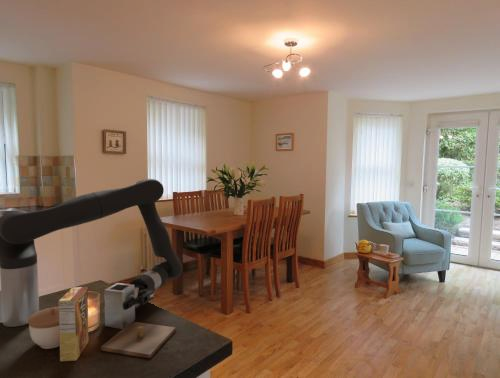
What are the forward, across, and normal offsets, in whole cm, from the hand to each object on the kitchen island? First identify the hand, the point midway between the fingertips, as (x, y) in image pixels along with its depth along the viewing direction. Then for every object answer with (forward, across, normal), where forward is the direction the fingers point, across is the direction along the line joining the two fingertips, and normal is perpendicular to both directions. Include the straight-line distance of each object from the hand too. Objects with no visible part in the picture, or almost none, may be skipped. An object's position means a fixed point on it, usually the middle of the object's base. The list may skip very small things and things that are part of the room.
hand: (115, 305), depth 97 cm
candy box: (+14, -2, +7) cm, 15 cm away
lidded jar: (+12, -11, +7) cm, 17 cm away
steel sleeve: (-2, 0, +6) cm, 7 cm away
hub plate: (+5, +11, +6) cm, 14 cm away
